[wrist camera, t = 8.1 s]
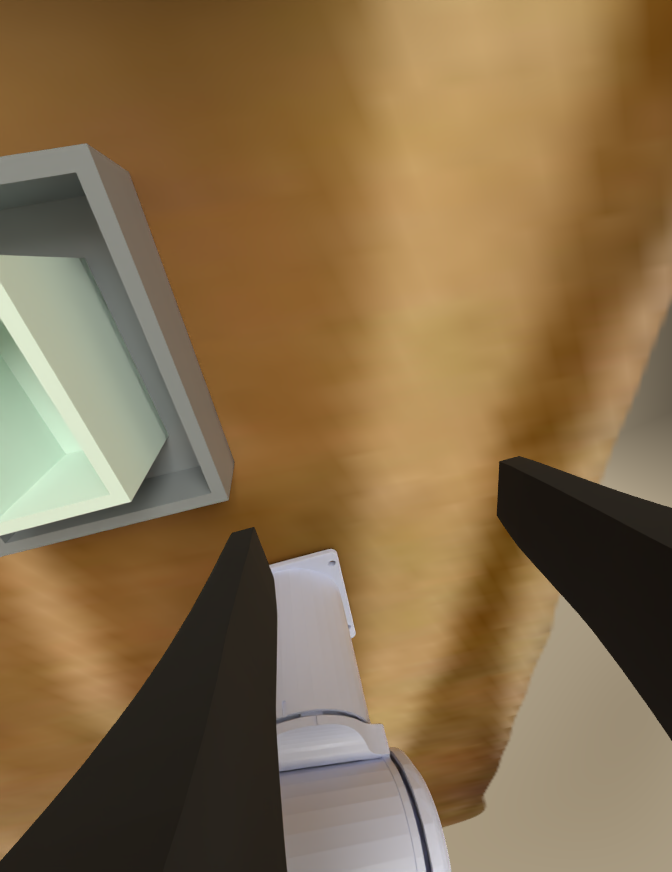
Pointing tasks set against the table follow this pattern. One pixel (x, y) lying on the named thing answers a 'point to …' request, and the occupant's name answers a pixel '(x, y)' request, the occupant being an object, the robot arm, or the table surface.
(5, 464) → the small crate
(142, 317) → the large crate
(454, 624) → the table surface
